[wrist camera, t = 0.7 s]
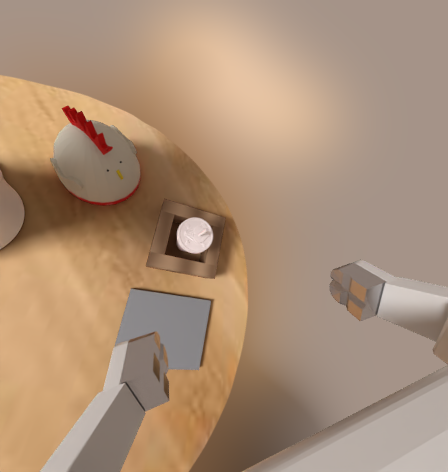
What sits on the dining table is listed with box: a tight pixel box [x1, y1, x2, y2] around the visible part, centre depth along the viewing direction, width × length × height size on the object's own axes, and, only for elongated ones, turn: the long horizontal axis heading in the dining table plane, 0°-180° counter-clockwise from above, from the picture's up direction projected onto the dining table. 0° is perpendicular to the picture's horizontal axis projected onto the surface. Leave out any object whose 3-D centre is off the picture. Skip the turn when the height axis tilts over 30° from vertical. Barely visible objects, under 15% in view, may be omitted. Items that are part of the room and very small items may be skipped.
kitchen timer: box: [50, 106, 141, 205], centre depth 32 cm, size 14×14×15 cm
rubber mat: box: [115, 289, 211, 370], centre depth 38 cm, size 16×13×1 cm
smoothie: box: [176, 217, 213, 254], centre depth 37 cm, size 6×6×14 cm
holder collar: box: [146, 199, 225, 279], centre depth 41 cm, size 13×13×5 cm
